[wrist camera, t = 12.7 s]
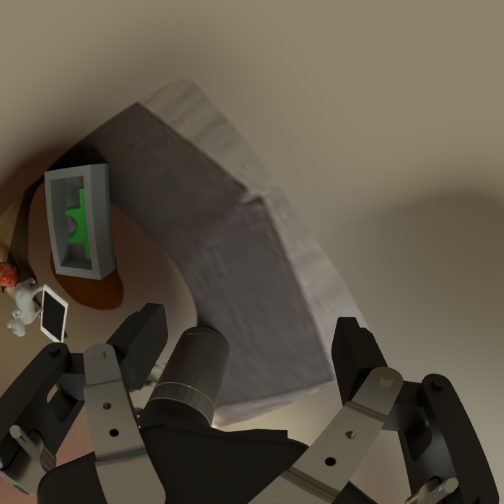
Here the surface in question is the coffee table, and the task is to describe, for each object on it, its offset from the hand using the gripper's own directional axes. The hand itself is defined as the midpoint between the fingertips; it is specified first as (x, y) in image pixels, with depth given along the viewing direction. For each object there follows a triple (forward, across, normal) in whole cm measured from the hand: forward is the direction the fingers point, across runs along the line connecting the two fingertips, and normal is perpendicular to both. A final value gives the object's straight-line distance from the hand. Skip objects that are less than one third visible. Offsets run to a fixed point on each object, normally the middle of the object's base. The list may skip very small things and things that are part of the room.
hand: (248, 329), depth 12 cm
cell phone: (+29, +48, +24) cm, 61 cm away
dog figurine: (+28, +52, +20) cm, 62 cm away
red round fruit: (+28, +60, +13) cm, 68 cm away
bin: (+28, +31, +1) cm, 42 cm away
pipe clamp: (+26, +31, +1) cm, 41 cm away
